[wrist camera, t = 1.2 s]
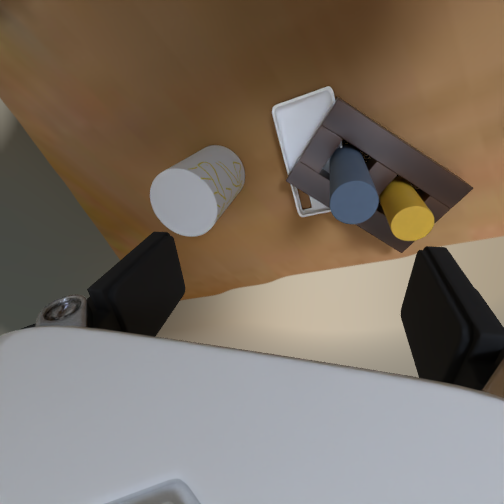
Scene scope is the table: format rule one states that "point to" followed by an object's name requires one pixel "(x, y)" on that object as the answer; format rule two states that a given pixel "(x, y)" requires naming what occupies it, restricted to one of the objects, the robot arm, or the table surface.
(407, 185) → the mustard peg
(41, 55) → the table surface
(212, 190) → the cup
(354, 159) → the blue peg
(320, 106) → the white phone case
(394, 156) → the stand
